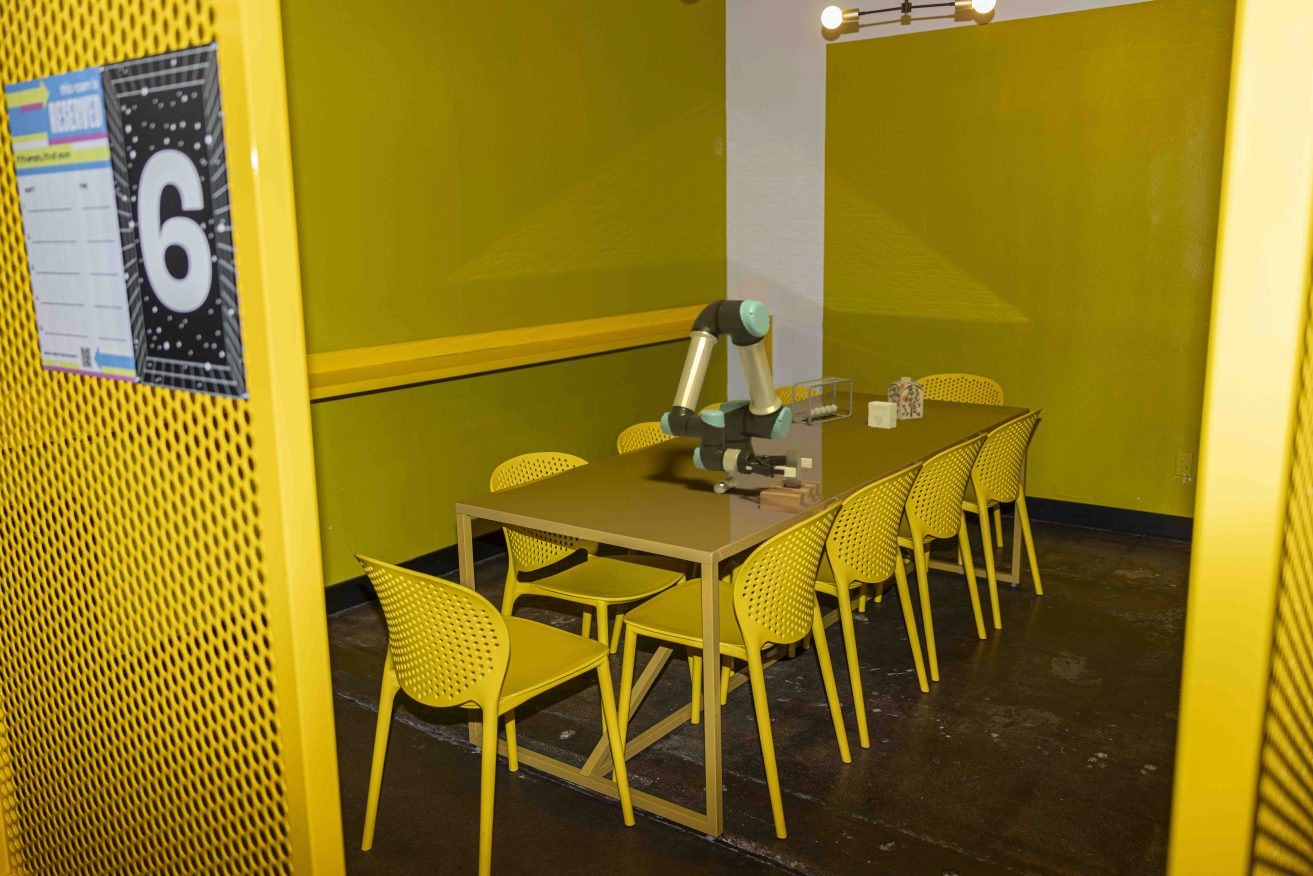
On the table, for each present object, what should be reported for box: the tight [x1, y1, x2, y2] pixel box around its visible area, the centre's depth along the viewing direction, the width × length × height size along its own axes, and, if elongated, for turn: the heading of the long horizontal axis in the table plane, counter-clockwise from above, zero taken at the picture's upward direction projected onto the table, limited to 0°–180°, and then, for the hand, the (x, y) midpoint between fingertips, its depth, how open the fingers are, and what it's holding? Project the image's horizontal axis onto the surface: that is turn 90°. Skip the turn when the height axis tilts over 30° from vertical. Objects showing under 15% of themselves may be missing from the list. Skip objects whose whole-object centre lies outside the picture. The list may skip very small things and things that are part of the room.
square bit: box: [785, 447, 802, 489], centre depth 303 cm, size 4×4×16 cm
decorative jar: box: [887, 376, 925, 421], centre depth 437 cm, size 12×12×18 cm
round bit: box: [713, 476, 737, 494], centre depth 319 cm, size 10×4×4 cm
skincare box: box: [867, 400, 898, 430], centre depth 418 cm, size 10×6×10 cm, turn 49°
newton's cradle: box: [791, 376, 854, 426], centre depth 435 cm, size 30×10×18 cm, turn 132°
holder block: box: [759, 477, 822, 514], centre depth 302 cm, size 20×12×5 cm, turn 151°
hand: (803, 468), depth 300 cm, fingers open, 13 cm apart
